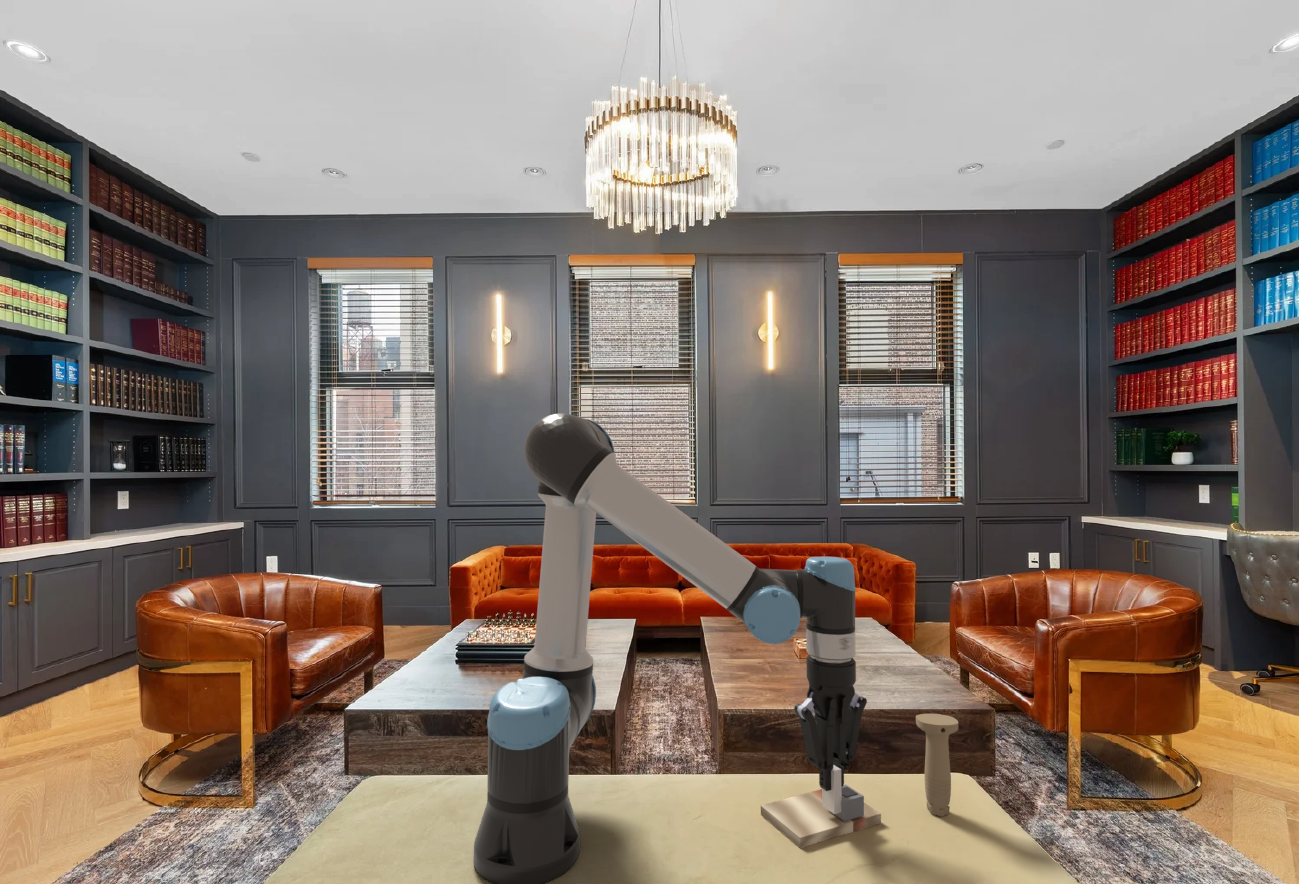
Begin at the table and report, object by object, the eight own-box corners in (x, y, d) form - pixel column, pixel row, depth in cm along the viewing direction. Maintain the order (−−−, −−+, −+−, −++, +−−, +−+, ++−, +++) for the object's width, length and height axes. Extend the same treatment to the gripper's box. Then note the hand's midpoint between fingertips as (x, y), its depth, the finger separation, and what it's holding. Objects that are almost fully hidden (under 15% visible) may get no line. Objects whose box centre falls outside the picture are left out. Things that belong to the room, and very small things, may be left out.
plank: (800, 848, 94) (800, 837, 94) (760, 814, 103) (760, 805, 103) (881, 823, 100) (880, 813, 100) (837, 793, 109) (837, 784, 109)
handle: (964, 820, 101) (963, 725, 102) (924, 819, 101) (922, 724, 102) (951, 804, 106) (950, 714, 107) (912, 804, 106) (911, 713, 107)
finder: (844, 821, 98) (844, 800, 98) (826, 808, 101) (826, 788, 101) (863, 815, 99) (863, 794, 99) (845, 803, 103) (845, 783, 103)
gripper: (813, 668, 94) (814, 831, 93) (879, 657, 100) (881, 811, 98) (782, 654, 101) (783, 806, 100) (845, 645, 106) (846, 789, 105)
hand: (831, 808), depth 99 cm, fingers closed
